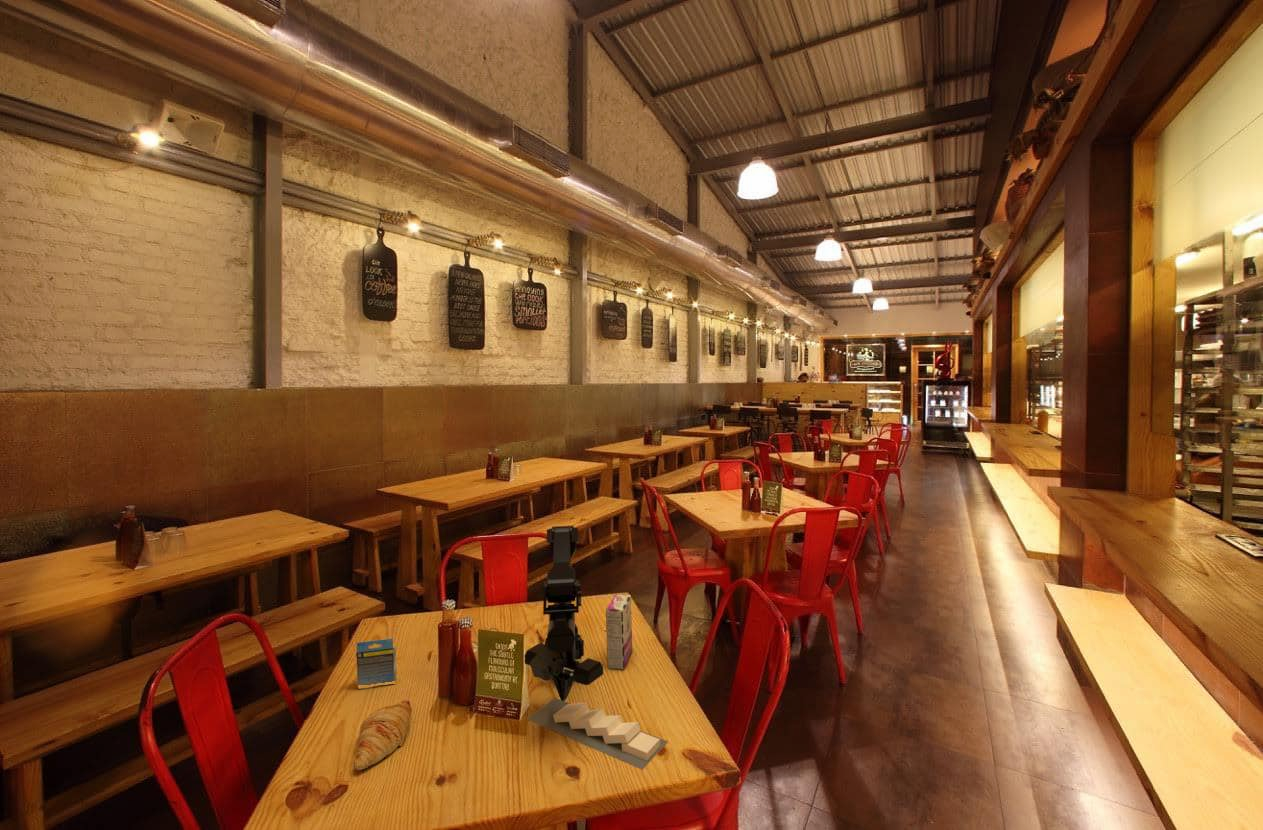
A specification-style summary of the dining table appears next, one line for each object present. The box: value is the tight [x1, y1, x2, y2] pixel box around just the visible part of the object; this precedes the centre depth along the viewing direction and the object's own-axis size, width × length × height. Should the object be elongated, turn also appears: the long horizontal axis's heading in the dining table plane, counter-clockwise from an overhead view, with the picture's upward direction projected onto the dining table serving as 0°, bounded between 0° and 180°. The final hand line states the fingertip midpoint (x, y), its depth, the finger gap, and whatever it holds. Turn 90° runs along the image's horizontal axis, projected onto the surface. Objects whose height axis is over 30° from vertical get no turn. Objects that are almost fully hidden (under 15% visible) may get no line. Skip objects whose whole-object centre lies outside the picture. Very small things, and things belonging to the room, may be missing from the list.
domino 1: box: [553, 702, 590, 722], centre depth 121 cm, size 2×5×6 cm
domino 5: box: [622, 730, 660, 761], centre depth 111 cm, size 2×5×6 cm
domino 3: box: [585, 714, 623, 736], centre depth 116 cm, size 2×5×6 cm
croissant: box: [354, 700, 413, 771], centre depth 117 cm, size 21×10×8 cm, turn 179°
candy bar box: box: [605, 594, 633, 671], centre depth 150 cm, size 11×5×16 cm, turn 168°
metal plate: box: [525, 697, 669, 770], centre depth 118 cm, size 31×10×1 cm, turn 57°
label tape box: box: [355, 637, 398, 686], centre depth 140 cm, size 9×4×12 cm, turn 105°
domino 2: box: [569, 708, 606, 729], centre depth 119 cm, size 2×5×6 cm
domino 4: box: [603, 721, 641, 744], centre depth 114 cm, size 2×5×6 cm
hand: (563, 699), depth 122 cm, fingers closed
